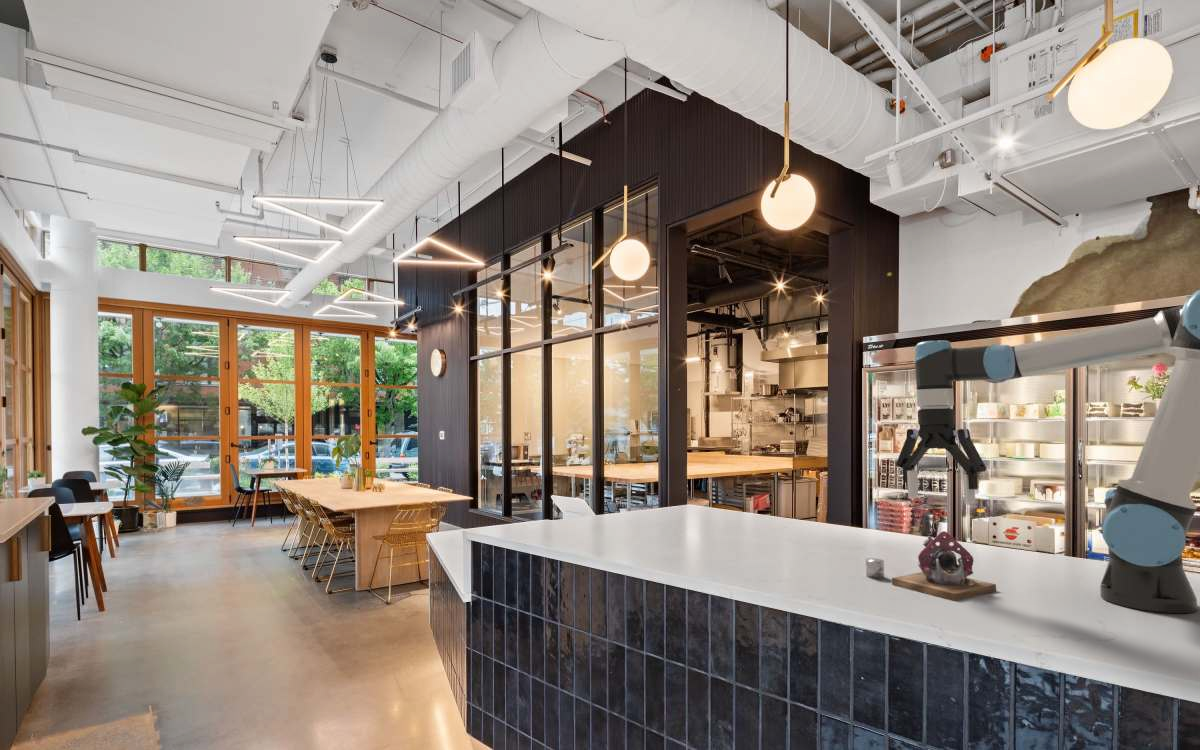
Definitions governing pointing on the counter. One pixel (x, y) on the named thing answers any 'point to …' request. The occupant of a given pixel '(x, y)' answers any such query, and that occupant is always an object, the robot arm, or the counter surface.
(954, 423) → the robot arm
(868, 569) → the grey metallic cube
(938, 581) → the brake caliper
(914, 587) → the stand
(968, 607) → the counter surface
